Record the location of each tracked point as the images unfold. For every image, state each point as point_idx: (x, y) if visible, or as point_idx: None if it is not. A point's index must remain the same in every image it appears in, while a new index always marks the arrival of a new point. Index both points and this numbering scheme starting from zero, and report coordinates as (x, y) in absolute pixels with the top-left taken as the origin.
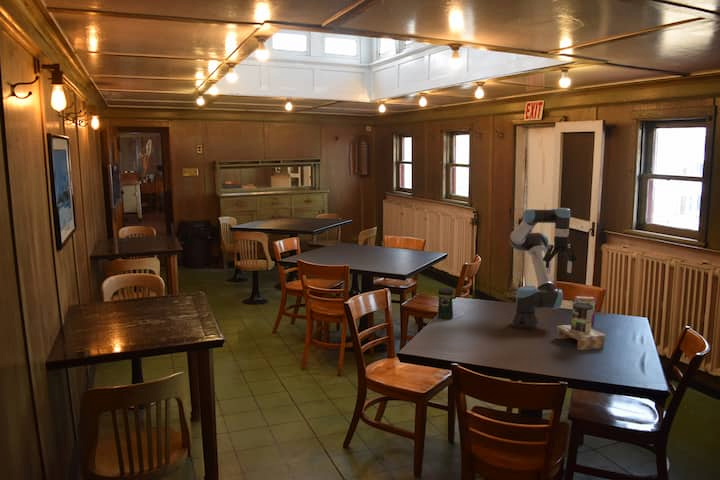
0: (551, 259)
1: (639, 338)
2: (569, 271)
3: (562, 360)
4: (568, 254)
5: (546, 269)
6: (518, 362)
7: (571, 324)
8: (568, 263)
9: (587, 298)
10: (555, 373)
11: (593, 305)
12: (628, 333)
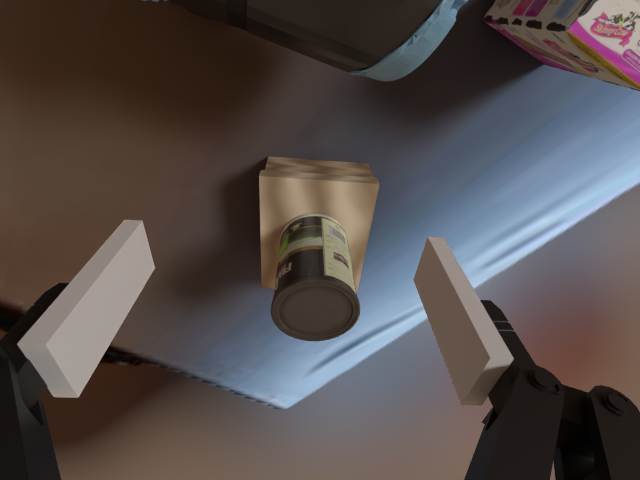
0: (51, 456)
1: (526, 236)
2: (419, 284)
3: (178, 298)
4: None
5: (100, 250)
6: (50, 283)
7: (283, 239)
8: (464, 337)
9: (621, 61)
10: (126, 341)
11: (607, 80)
12: (551, 191)
